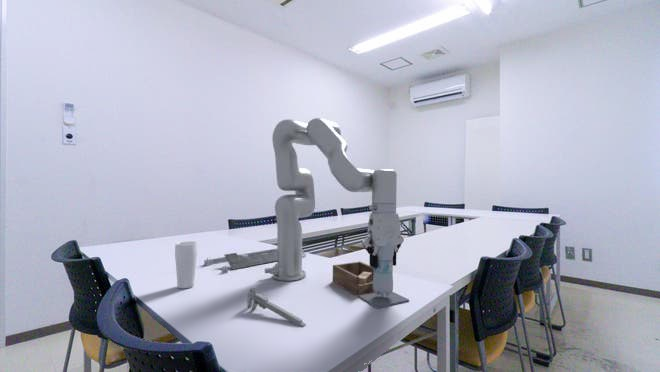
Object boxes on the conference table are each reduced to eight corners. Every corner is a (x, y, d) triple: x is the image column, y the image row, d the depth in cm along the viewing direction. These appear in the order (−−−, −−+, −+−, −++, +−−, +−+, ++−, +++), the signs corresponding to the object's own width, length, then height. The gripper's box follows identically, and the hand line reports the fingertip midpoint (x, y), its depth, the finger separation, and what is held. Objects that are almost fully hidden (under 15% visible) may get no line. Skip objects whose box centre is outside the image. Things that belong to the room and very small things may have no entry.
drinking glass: (201, 284, 105) (201, 242, 104) (185, 291, 98) (186, 245, 98) (185, 282, 107) (186, 240, 107) (170, 288, 100) (170, 244, 100)
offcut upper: (364, 286, 98) (365, 278, 98) (355, 284, 100) (355, 277, 100) (372, 279, 105) (372, 272, 105) (363, 278, 106) (363, 271, 106)
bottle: (393, 298, 89) (394, 231, 89) (371, 296, 90) (372, 230, 90) (393, 290, 95) (394, 228, 95) (372, 288, 97) (373, 227, 97)
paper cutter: (204, 265, 130) (204, 253, 130) (288, 250, 161) (288, 240, 161) (221, 275, 117) (221, 261, 117) (309, 257, 147) (309, 245, 147)
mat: (377, 308, 85) (377, 306, 85) (358, 296, 94) (358, 295, 94) (409, 301, 91) (409, 299, 91) (388, 290, 100) (388, 289, 100)
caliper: (247, 309, 85) (247, 287, 85) (249, 307, 86) (250, 286, 86) (303, 328, 74) (303, 303, 74) (306, 326, 75) (306, 301, 75)
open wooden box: (356, 295, 95) (356, 277, 95) (332, 281, 109) (332, 265, 109) (385, 289, 101) (385, 272, 101) (359, 276, 115) (359, 261, 115)
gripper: (368, 210, 85) (367, 272, 85) (413, 209, 93) (412, 265, 94) (354, 208, 92) (353, 266, 92) (397, 207, 100) (396, 260, 100)
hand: (383, 265), depth 93 cm, fingers closed on bottle, 6 cm apart
